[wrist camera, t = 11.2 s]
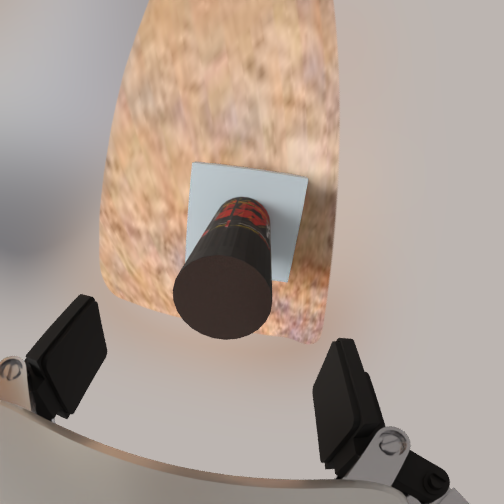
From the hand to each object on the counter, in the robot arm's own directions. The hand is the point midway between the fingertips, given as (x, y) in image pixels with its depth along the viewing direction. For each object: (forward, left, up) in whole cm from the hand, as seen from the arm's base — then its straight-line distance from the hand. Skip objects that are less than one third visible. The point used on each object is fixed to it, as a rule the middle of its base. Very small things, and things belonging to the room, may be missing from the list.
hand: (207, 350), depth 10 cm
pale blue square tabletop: (+2, 0, -28) cm, 28 cm away
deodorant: (+2, 0, -21) cm, 21 cm away
